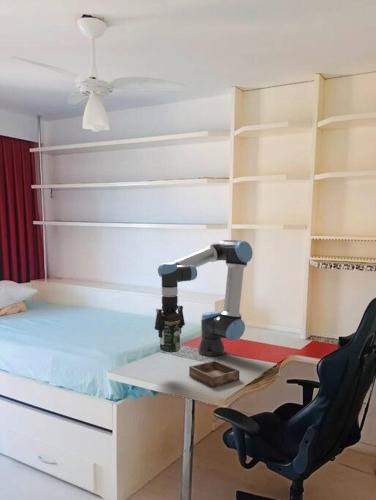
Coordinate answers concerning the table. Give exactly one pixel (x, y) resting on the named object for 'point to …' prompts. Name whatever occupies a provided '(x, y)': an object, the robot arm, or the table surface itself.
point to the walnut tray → (214, 373)
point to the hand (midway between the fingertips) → (170, 342)
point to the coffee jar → (171, 332)
